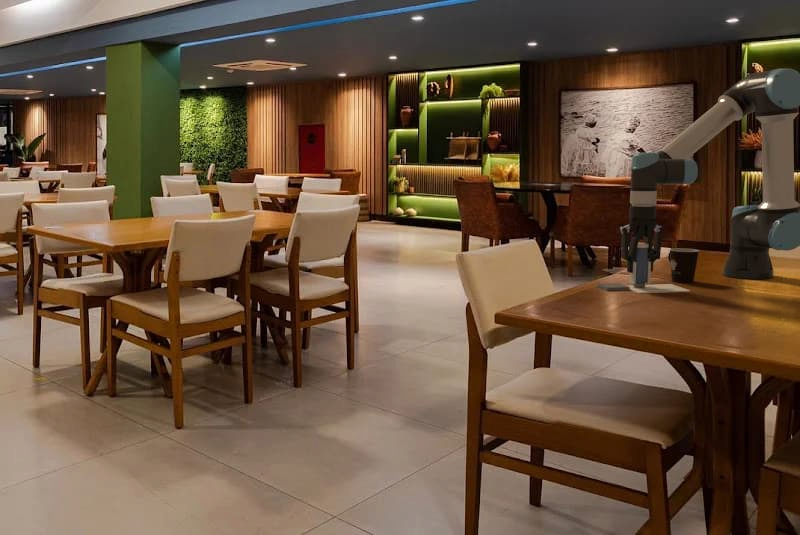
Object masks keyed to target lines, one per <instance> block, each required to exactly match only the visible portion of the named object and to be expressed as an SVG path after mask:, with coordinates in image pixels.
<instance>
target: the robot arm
mask: <svg viewBox="0 0 800 535" xmlns="http://www.w3.org/2000/svg"><path fill="white" fill-rule="evenodd" d="M799 110H800V72H799V71H797V70H796V69H794V68H793V69H792V68H776V69H771V70H765V71H757V72H753V73H750V74H749V75H747V76H745V77H743V78H742V79H740V80H739V81H738V82H736V83H735V84H734V85H732V86H731V87H730V88H728V89H727V90H726V91H724V93H723V94H722V95H720V96H719V97H718V100H717V102H716V104H714V105H713V106H712V107H711V108H710V109H708V110H707V111H706V112H704V113H703V114H702V115H701V116H700V117H699V118H698V119H696V120H695V121H694V122H693V123H691V124H690V125H689V126H688V127H687V128H686V129H684V130H683V131H682V132H681V133H679V134H678V135H677V136H676V137H674V139H672V140H671V141H670V142H668V144H666V145H665V146H664V147H662V148H661V149H660V150H659V151H657V152H635V153H633V154H632V157H631V166H630V172H631V173H630V192H629V193H630V194H629V203H630V206H629V213H628V215H629V216H628V217H629V221H628V222H627V224H626V225H624V226H620V227H619V228H618V229H619V232H620V257H621V259H622V260H624V261H626V264H627V265H626V271H627V273H628V274H629V275H628V276H629V277H628V283H629V284H631V285H634V284H635V283H636V262H634V259H635V254H636V250H637V246H638V243H639V241H640V240H641V237H642V238H643V241H644V242H643V243H646V244H649V247H648V261H647V282H646V283H645V284H646V285H650V284H651V273H653V272H654V263H655V262H656V260H660V258H661V253H662V243H663V242H662V238H663V234H664V231H665V226H661V225H658V224H657V221H656V217H657V207H656V205H657V203H658V202H657V200H658V198H657V197H658V196H657V195H658V193H657V192H658V186H662V185H669V186H670V185H675V186H677V185H678V186H679V185H681V186H684V185H691V184H693V183H694V182H695V181H696V180H697V178H698V175H699V174H698V172H699V169H698V168H699V167H698V164H697V162H696V161H695V160H694V159H690V157H691V156H693V155H694V154H695V153H696V152H698V150H700V149H701V148H702V147H704V146H705V145H706V144H707V143H708V142H710V141H711V140H712V139H714V138H715V137H716V136H717V135H718V134H720V132H722V131H723V130H724V129H726V128H727V127H728V126H730V125H731V124H732V123H733V122H734V121H740V120H742V119H743V118H744V117H745V116H748V115H749V114H751V113H754V112H755V119H757V120H758V121H759V122H760V124H761V125H760V126H761V162H762V163H761V166H762V169H761V170H762V202H761V203H760V204H756V205H755V204H754V205H739V206H735V207H734V208H733V209H732V214H731V218H730V219H731V227H730V228H731V230H730V243H729V244H730V246H729V253H728V255H727V257H726V260H725V262H724V265H723V267H722V275H723V276H725V277H730V278H738V279H746V280H747V279H748V280H766V279H771V278H774V268H773V264H772V260H771V257H770V249H772V250H775V251H786V252H787V251H788V252H789V251H793V250H795V249H797V248H798V247H800V203H799V202H798V201H796V200H795V172H794V171H795V164H794V162H795V161H794V160H795V157H794V155H795V154H794V153H795V152H794V146H795V145H794V120H795V118H796V117H797V116H798V115H799V114H800V112H799ZM653 231H654V234H652V233H653ZM630 232H631V236H630V235H629V233H630ZM629 236H630V238H629ZM653 237H654V238H653ZM629 239H630V241H629ZM629 242H630V243H629Z"/></svg>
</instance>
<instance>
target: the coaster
mask: <svg viewBox="0 0 800 535" xmlns="http://www.w3.org/2000/svg"><path fill="white" fill-rule="evenodd" d="M597 288H600V289H602V290H604V291H606V292H615V291H616V292H619V291H620V292H621V291H631V290H630V287H628V285H625V284H623V283H620V282H608V283H607V282H605V283H597Z"/></svg>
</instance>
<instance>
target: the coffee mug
mask: <svg viewBox="0 0 800 535" xmlns="http://www.w3.org/2000/svg"><path fill="white" fill-rule="evenodd" d="M699 251H700V250H699V249H695V248H687V247H686V248H682V247H680V248H679V247H677V248H676V247H675V248H670V249H669V253H668V255H667V256H668V257H667V259H668V262H669V264H670V276H671V282H672V283H677V284H692V283H694V282H695V281H694V280H695V275H696V268H697V263H698V260H699V253H700V252H699Z"/></svg>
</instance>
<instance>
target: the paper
mask: <svg viewBox="0 0 800 535" xmlns="http://www.w3.org/2000/svg"><path fill="white" fill-rule="evenodd" d="M633 285H634V284H631V285H627V286H628V287H630V290H629V291H632V292H634V293H637V294H659V293H665V294H666V293H688V292H689V293H690V292H691V290H690V289H687V288H684V287H681V286H678V285H675V284H672V283H664V284H661V283H660V284H645V287H644V288H638V287H634V286H633Z"/></svg>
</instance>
